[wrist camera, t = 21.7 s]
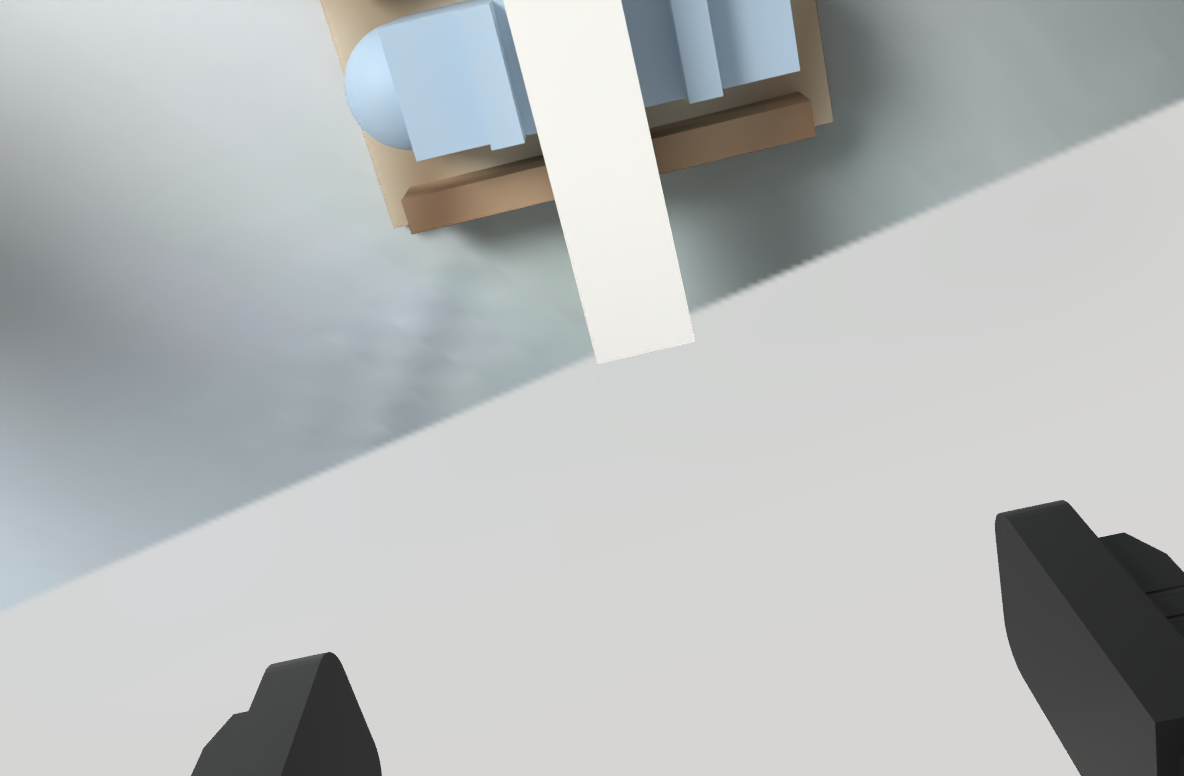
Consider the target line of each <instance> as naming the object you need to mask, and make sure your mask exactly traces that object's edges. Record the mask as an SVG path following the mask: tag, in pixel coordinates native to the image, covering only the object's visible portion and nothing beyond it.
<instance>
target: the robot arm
mask: <svg viewBox="0 0 1184 776" xmlns="http://www.w3.org/2000/svg"><path fill="white" fill-rule="evenodd" d="M995 534H996V543H997V554H998V563H999V573H1000V583H1001V593H1002V602H1003V612H1004V621H1005V627H1006V632H1007V637H1008V640H1009V644H1010V647H1011V650H1012V654H1013V656H1014V659H1015V662H1016V664H1017V666H1018V669H1019V671H1020V673H1021V675H1022V676H1023V678H1024V680H1025V682H1026V683H1027V685H1028V687H1029V688H1030V690H1031V692H1032V693H1033V695H1034V697H1035V699H1036V700H1037V702H1038V704H1039V705H1040V707H1041V709H1042V710H1043V712H1044V714H1045V716H1046V717H1047V719H1048V720H1049V722H1050V724H1051V725H1052V727H1053V729H1054V731H1055V732H1056V734H1057V736H1058V737H1059V739H1060V741H1061V742H1062V744H1063V746H1064V748H1065V749H1066V751H1067V753H1068V754H1069V756H1070V758H1071V759H1072V761H1073V763H1074V765H1075V766H1076V768H1077V770H1078V771H1079V773H1080V775H1081V776H1184V572H1183V571H1182V570H1181V569H1180V568H1179V567H1178V566H1177V565H1176V564H1175V563H1174V561H1173V560H1172V559H1171V558H1170V557H1169V556H1168V555H1167V554H1166V553H1164V552H1162V551H1160V550H1158V549H1156V548H1154V547H1152V546H1150V545H1148V544H1146V543H1144V542H1142V541H1140V540H1138V539H1136V538H1134V537H1132V536H1130V535H1128V534H1126V533H1119V534H1115V535H1110V536H1105V537H1100V538H1098V537H1097V536H1096V535H1095V534H1094V532H1093V531H1092V530H1091V529H1090V528H1089V526H1088V525H1087V524H1086V523H1085V522H1084V521H1083V519H1082V518H1081V517H1080V516H1079V515H1078V514H1077V512H1076V511H1075V510H1074V509H1073V508H1072V506H1071V505H1070V504H1069V503H1067V502H1066V501H1064V500H1060V501H1055V502H1051V503H1046V504H1042V505H1036V506H1032V507H1027V508H1022V509H1017V510H1013V511H1008V512H1003V513H999V514H998V515H997V516H996V520H995ZM191 776H382V774H381V766H380V761H379V756H378V752H377V748H376V746H375V743H374V741H373V738H372V736H371V733H370V731H369V729H368V726H367V724H366V721H365V719H364V717H363V714H362V712H361V709H360V707H359V705H358V702H357V700H356V697H355V695H354V692H353V690H352V687H351V685H350V683H349V680H348V678H347V675H346V673H345V671H344V668H343V666H342V664H341V662H340V660H339V659H338V657H337V656H336V655H335V654H333V653H331V652H328V653H322V654H318V655H313V656H308V657H303V658H299V659H294V660H289V661H284V662H279V663H275V664H271V665H270V666H269V667H268V668H267V669H266V671H265V673H264V675H263V678H262V680H261V683H260V685H259V688H258V690H257V692H256V695H255V697H254V699H253V702H252V704H251V707H250V709H249V711H247V712H243V713H238V714H234V715H233V716H232V717H231V718H230V719H229V720H228V721H227V722H226V724H225V725H224V726H223V727H222V728H221V729H220V730H219V731H218V732H217V734H216V735H215V736H214V737H213V738H212V739H211V740H210V741H209V743H208V744H207V745H206V746H205V747H204V748H203V750H202V753H201V755H200V758H199V759H198V762H197V764H196V766H195V768H194V770H193V773H192V775H191Z"/></svg>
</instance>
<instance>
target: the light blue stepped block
mask: <svg viewBox="0 0 1184 776" xmlns="http://www.w3.org/2000/svg"><path fill="white" fill-rule="evenodd" d="M621 2H622V7H623V11H624V16H625V20H626V25H627V30H628V34H629V39H630V43H631V48H632V53H633V57H634V62H635V66H636V71H637V76H638V80H639V85H640V89H641V94H642V98H643V103H644V108H645V107H649V106H653V105H657V104H662V103H666V102H670V101H674V100H679V99H683V98H687V100H688V102H689V103H690V104H692V103H696V102H700V101H704V100H708V99H713V98H717V97H721V96H723V90H722V89H725V88H729V87H733V86H738V85H742V84H746V83H750V82H755V81H759V80H763V79H767V78H772V77H776V76H780V75H784V74H788V73H793V72H797V71H800V66H799V59H798V52H797V45H796V38H795V32H794V25H793V18H792V11H791V4H790V0H621ZM344 87H345V95H346V99H347V103H348V106H349V108H350V111H351V113H352V115H353V116H354V118H355V120H356V121H357V123H358V124H359V125H360V126H361V128H362V129H363V130H364V131H365V132H366V133H367V134H369V135H370V136H371V137H372V138H374V139H375V140H377V141H378V142H380V143H382V144H384V145H387V146H389V147H392V148H396V149H402V150H413V151H414V155H415V158H416V162H417V161H421V160H425V159H429V158H434V157H438V156H442V155H446V154H451V153H455V152H459V151H463V150H467V149H472V148H476V147H480V146H484V145H489V144H490V146H491V150H492V151H493V150H497V149H501V148H505V147H510V146H514V145H518V144H522V143H525V138H526V136H527V135H531V134H535V133H537V129H536V125H535V122H534V118H533V114H532V110H531V106H530V102H529V99H528V95H527V91H526V87H525V83H524V79H523V75H522V72H521V68H520V64H519V60H518V56H517V52H516V48H515V45H514V41H513V37H512V33H511V29H510V25H509V22H508V18H507V14H506V10H505V6H504V2H503V0H466V1H462V2H458V3H454V4H450V5H446V6H442V7H438V8H434V9H430V10H426V11H422V12H418V13H414V14H410V15H406V16H402V17H399V18H397V19H395V20H394V21H392V22H390V23H387V24H384V25H381V26H379V27H377V28H375V29H373V30H372V31H370V32H369V33H368V34H366V35H365V36H364V37H363V38H362V39H361V40H360V41H359V43H358V44H357V45H356V46H355V48H354V50H353V51H352V53H351V55H350V57H349V60H348V62H347V66H346V70H345V84H344Z"/></svg>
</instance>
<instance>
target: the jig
mask: <svg viewBox="0 0 1184 776" xmlns="http://www.w3.org/2000/svg"><path fill="white" fill-rule="evenodd" d="M462 1H466V0H320V2H321V5H322V9H323V12H324V15H325V18H326V21H327V24H328V27H329V30H330V33H331V36H332V39H333V43H334V46H335V49H336V52H337V55H338V58H339V61H340V64H341V67H342V70H343V73H344V76H345V70H346V66H347V62H348V60H349V57H350V55H351V53H352V51H353V50H354V48H355V46H356V45H357V44H358V43H359V41H360V40H361V39H362V38H363V37H364V36H365V35H366V34H368V33H369V32H370V31H372V30H373V29H375V28H377V27H379V26H381V25H384V24H387V23H390V22H392V21H394V20H395V19H397V18H399V17H402V16H406V15H410V14H414V13H418V12H422V11H426V10H430V9H434V8H438V7H442V6H446V5H450V4H454V3H458V2H462ZM790 4H791V11H792V18H793V25H794V32H795V38H796V45H797V52H798V59H799V66H800V71H797V72H793V73H788V74H784V75H780V76H776V77H772V78H767V79H763V80H759V81H755V82H750V83H746V84H742V85H738V86H733V87H729V88H725V89H722V90H723V96H721V97H717V98H713V99H708V100H704V101H700V102H696V103H692V104H690V103H689V102H688V100H687V98H683V99H679V100H674V101H670V102H666V103H662V104H657V105H653V106H649V107H645V112H646V117H647V121H648V126H649V131H650V135H651V140H652V144H653V149H654V154H655V158H656V163H657V167H658V172H659V175H660V174H664V173H668V172H672V171H676V170H680V169H684V168H688V167H693V166H697V165H701V164H705V163H709V162H713V161H717V160H722V159H726V158H730V157H734V156H738V155H742V154H746V153H750V152H755V151H759V150H763V149H767V148H771V147H775V146H779V145H783V144H788V143H792V142H796V141H800V140H804V139H808V138H812V137H816V130H815V126H819V125H823V124H827V123H831V122H833V115H832V109H831V102H830V95H829V88H828V81H827V75H826V68H825V61H824V54H823V48H822V41H821V34H820V27H819V20H818V14H817V7H816V0H790ZM361 129H362V128H361ZM362 132H363V135H364V138H365V141H366V144H367V147H368V151H369V154H370V157H371V160H372V163H373V166H374V169H375V172H376V175H377V178H378V181H379V184H380V188H381V191H382V194H383V197H384V200H385V203H386V206H387V209H388V212H389V215H390V218H391V222H392V225H393V228H394V229H395V228H399V227H403V226H407V225H409V228H410V231H411V234H416V233H420V232H424V231H428V230H432V229H436V228H441V227H445V226H449V225H453V224H457V223H461V222H465V221H469V220H474V219H478V218H482V217H486V216H490V215H494V214H498V213H503V212H507V211H511V210H515V209H519V208H523V207H527V206H531V205H536V204H540V203H544V202H548V201H552V200H555V199H554V195H553V191H552V187H551V183H550V179H549V175H548V172H547V168H546V164H545V160H544V156H543V152H542V149H541V145H540V141H539V137H538V133H535V134H531V135H527V136H526V138H525V143H522V144H518V145H514V146H510V147H505V148H501V149H497V150H493V151H492V150H491V146H490V144H489V145H484V146H480V147H476V148H472V149H467V150H463V151H459V152H455V153H451V154H446V155H442V156H438V157H434V158H429V159H425V160H421V161H417V162H416V158H415V155H414V151H413V150H402V149H396V148H392V147H389V146H387V145H384V144H382V143H380V142H378V141H377V140H375V139H374V138H372V137H371V136H370V135H369V134H367V133H366V132H365V131H364V130H363V129H362Z"/></svg>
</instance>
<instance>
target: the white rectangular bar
mask: <svg viewBox="0 0 1184 776" xmlns="http://www.w3.org/2000/svg"><path fill="white" fill-rule="evenodd" d="M503 2H504V6H505V10H506V14H507V18H508V22H509V25H510V29H511V33H512V37H513V41H514V45H515V48H516V52H517V56H518V60H519V64H520V68H521V72H522V75H523V79H524V83H525V87H526V91H527V95H528V99H529V102H530V106H531V110H532V114H533V118H534V122H535V125H536V129H537V133H538V137H539V141H540V145H541V149H542V152H543V156H544V160H545V164H546V168H547V172H548V175H549V179H550V183H551V187H552V191H553V195H554V199H555V202H556V206H557V210H558V214H559V218H560V222H561V226H562V229H563V233H564V237H565V241H566V245H567V249H568V252H569V256H570V260H571V264H572V268H573V272H574V276H575V279H576V283H577V287H578V291H579V295H580V299H581V303H582V306H583V310H584V314H585V318H586V322H587V326H588V329H589V333H590V337H591V341H592V345H593V349H594V353H595V356H596V360H597V364H601V363H606V362H610V361H614V360H619V359H623V358H627V357H631V356H636V355H640V354H645V353H649V352H654V351H658V350H662V349H667V348H671V347H675V346H679V345H684V344H688V343H693V342H695V338H694V333H693V328H692V324H691V319H690V314H689V310H688V305H687V301H686V296H685V291H684V287H683V282H682V278H681V273H680V268H679V264H678V259H677V255H676V250H675V246H674V241H673V236H672V232H671V227H670V223H669V218H668V213H667V209H666V204H665V200H664V195H663V190H662V186H661V181H660V177H659V172H658V167H657V163H656V158H655V154H654V149H653V144H652V140H651V135H650V131H649V126H648V121H647V117H646V112H645V108H644V103H643V98H642V94H641V89H640V85H639V80H638V76H637V71H636V66H635V62H634V57H633V53H632V48H631V43H630V39H629V34H628V30H627V25H626V20H625V16H624V11H623V7H622V2H621V0H503Z"/></svg>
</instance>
